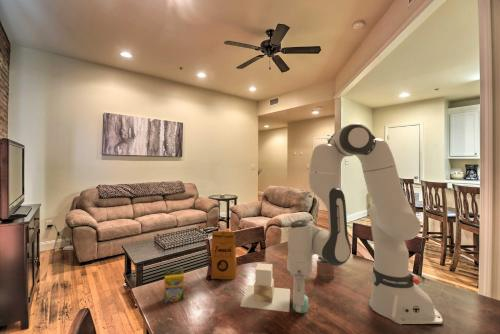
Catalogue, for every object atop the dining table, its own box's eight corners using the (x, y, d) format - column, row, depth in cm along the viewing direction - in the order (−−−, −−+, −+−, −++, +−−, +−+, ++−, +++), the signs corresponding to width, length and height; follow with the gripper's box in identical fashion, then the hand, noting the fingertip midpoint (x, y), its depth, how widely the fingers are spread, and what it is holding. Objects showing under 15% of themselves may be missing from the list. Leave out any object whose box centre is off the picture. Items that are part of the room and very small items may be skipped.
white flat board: (290, 291, 102) (290, 289, 102) (289, 314, 86) (289, 311, 86) (248, 287, 105) (248, 284, 105) (239, 308, 90) (239, 306, 90)
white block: (272, 279, 98) (272, 264, 98) (271, 286, 92) (271, 270, 92) (257, 277, 99) (258, 263, 99) (255, 284, 93) (255, 269, 93)
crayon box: (164, 303, 93) (164, 273, 93) (164, 298, 96) (164, 270, 96) (183, 300, 95) (183, 271, 95) (183, 296, 98) (183, 267, 98)
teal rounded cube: (307, 307, 91) (307, 294, 91) (308, 316, 85) (309, 302, 85) (292, 305, 91) (292, 292, 91) (292, 314, 86) (293, 301, 86)
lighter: (333, 276, 116) (333, 255, 116) (334, 279, 112) (335, 258, 112) (316, 275, 117) (316, 254, 116) (317, 278, 113) (317, 257, 113)
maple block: (273, 293, 99) (273, 278, 99) (272, 302, 92) (272, 287, 92) (256, 291, 100) (256, 277, 100) (254, 300, 93) (254, 285, 93)
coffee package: (235, 283, 109) (235, 234, 109) (208, 281, 111) (208, 233, 110) (239, 273, 119) (239, 228, 118) (214, 271, 120) (214, 227, 120)
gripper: (309, 279, 78) (308, 322, 78) (307, 256, 98) (306, 290, 98) (289, 277, 79) (288, 319, 79) (291, 254, 99) (291, 288, 99)
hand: (298, 302), depth 89 cm, fingers open, 8 cm apart
